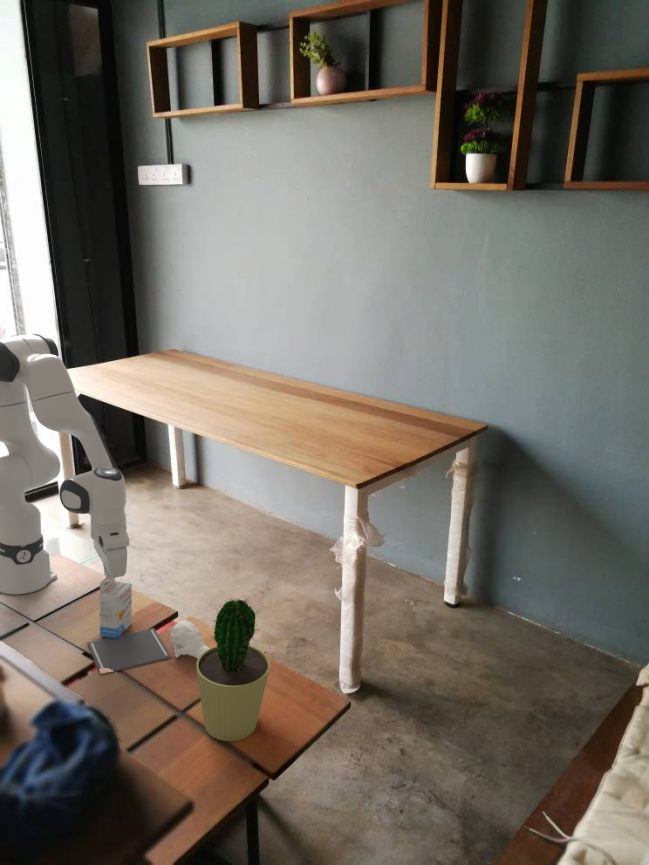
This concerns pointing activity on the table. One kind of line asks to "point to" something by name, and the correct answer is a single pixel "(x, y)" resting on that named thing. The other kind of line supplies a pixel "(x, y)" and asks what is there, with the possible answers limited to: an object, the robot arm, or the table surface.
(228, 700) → the potted cactus
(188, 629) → the white irregular lumpy piece
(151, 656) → the mat
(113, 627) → the ink box
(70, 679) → the table surface
